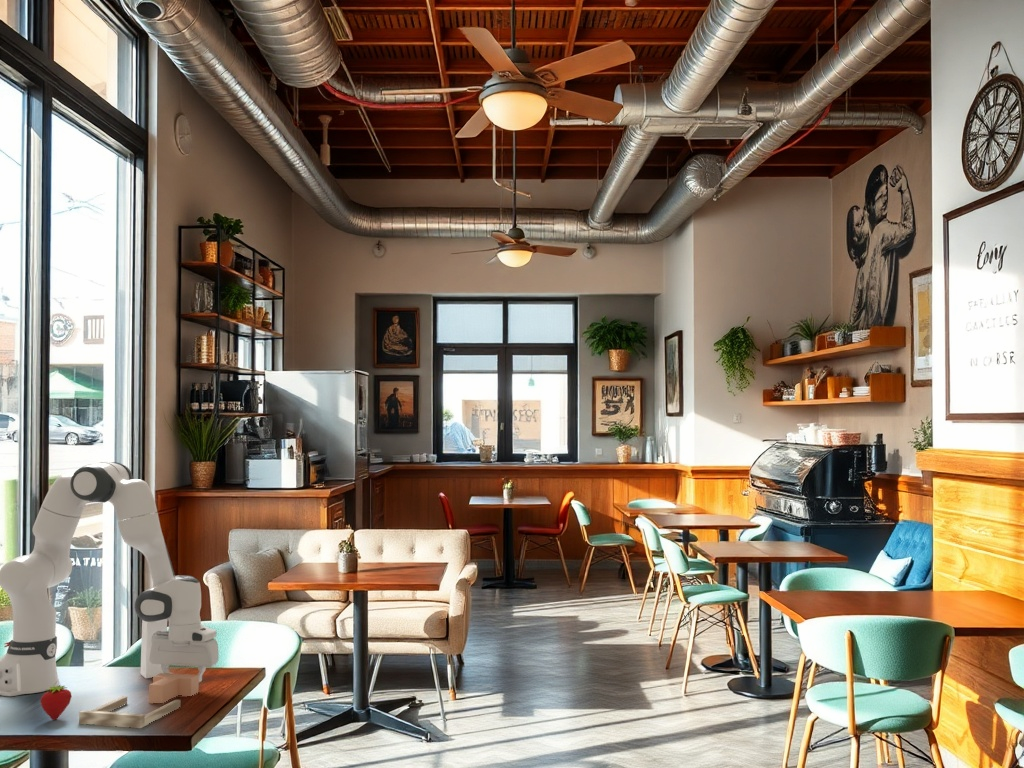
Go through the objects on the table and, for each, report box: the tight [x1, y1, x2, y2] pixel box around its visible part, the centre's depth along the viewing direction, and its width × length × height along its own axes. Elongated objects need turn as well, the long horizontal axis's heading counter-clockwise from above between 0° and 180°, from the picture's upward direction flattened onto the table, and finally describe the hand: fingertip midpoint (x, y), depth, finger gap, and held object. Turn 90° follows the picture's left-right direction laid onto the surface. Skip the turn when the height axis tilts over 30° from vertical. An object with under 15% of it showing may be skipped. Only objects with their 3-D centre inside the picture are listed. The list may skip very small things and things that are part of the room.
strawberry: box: [40, 683, 72, 721], centre depth 231 cm, size 6×8×10 cm
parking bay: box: [78, 695, 181, 729], centre depth 235 cm, size 18×18×3 cm
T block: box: [148, 672, 200, 704], centre depth 251 cm, size 12×12×5 cm
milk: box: [140, 619, 168, 679], centre depth 276 cm, size 6×6×22 cm
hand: (183, 680), depth 259 cm, fingers open, 8 cm apart
